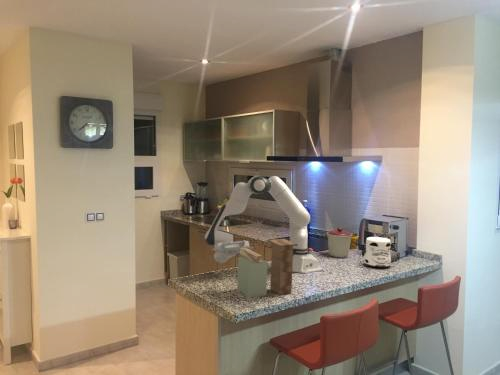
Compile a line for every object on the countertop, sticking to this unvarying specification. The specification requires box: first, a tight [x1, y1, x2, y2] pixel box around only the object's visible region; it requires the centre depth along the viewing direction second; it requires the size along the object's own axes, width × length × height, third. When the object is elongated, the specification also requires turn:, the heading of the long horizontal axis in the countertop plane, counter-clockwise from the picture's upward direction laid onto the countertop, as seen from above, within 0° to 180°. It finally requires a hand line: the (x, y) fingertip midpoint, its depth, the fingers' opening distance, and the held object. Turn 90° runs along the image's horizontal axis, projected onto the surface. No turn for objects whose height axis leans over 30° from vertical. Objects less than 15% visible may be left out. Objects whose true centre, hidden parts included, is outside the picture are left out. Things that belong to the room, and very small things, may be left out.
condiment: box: [349, 232, 359, 250], centre depth 331 cm, size 7×8×12 cm
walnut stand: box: [267, 238, 297, 296], centre depth 219 cm, size 10×14×26 cm
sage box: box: [236, 256, 268, 298], centre depth 216 cm, size 10×14×17 cm
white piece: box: [363, 236, 392, 269], centre depth 278 cm, size 17×17×18 cm
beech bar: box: [239, 248, 263, 263], centre depth 218 cm, size 3×20×4 cm, turn 25°
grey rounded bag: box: [390, 250, 400, 262], centre depth 299 cm, size 15×8×20 cm
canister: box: [326, 226, 352, 259], centre depth 303 cm, size 18×18×21 cm
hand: (236, 242), depth 235 cm, fingers open, 8 cm apart
